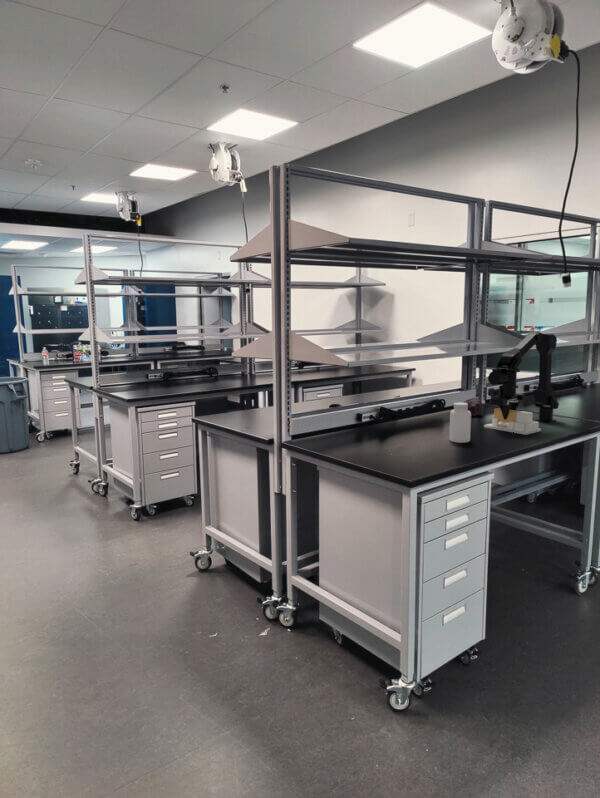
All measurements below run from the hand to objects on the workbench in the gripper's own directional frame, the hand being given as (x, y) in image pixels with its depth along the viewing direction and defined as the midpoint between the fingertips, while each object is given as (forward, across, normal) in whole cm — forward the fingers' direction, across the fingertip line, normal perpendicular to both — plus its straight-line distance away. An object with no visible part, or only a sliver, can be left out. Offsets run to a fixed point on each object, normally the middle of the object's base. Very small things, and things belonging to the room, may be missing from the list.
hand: (507, 418), depth 233 cm
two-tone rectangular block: (+1, 0, +2) cm, 3 cm away
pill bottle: (+4, +34, +1) cm, 34 cm away
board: (+4, 0, +2) cm, 5 cm away
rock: (+4, -13, -28) cm, 31 cm away
